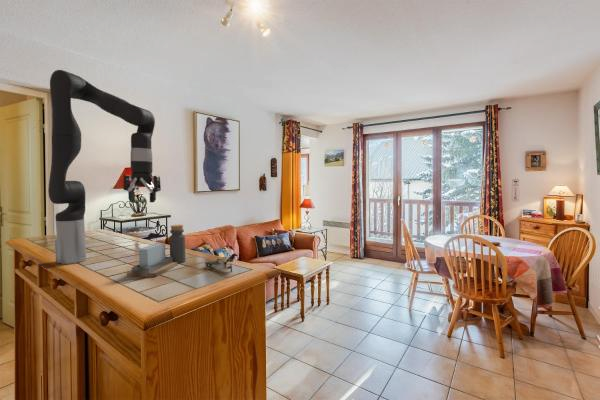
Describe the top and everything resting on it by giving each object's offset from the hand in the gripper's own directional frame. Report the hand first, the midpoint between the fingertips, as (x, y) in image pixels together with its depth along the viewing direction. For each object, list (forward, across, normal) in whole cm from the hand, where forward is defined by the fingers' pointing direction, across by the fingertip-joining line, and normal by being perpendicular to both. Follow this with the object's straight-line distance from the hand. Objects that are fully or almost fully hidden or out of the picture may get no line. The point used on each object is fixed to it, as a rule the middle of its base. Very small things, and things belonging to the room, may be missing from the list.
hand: (142, 201), depth 118 cm
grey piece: (+25, +10, -8) cm, 27 cm away
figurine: (+24, +34, -3) cm, 42 cm away
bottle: (+25, +12, +4) cm, 28 cm away
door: (+23, +9, -8) cm, 26 cm away
